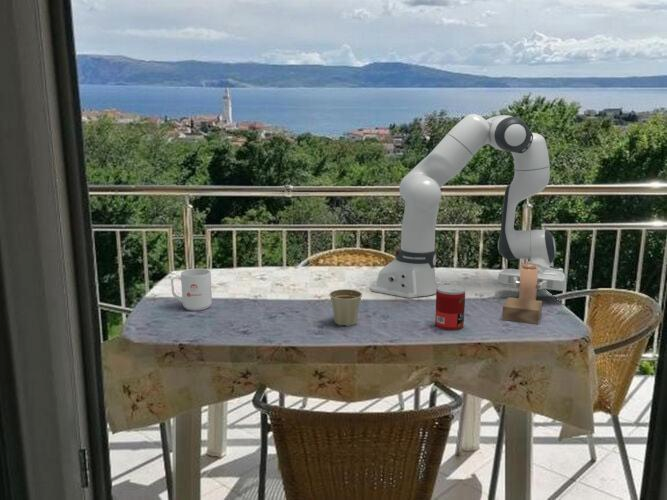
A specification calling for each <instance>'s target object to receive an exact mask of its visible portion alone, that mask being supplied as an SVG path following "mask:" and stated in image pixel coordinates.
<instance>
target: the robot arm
mask: <svg viewBox="0 0 667 500" xmlns="http://www.w3.org/2000/svg"><path fill="white" fill-rule="evenodd" d="M486 145H487V146H489V147H491V148H494V149H495V150H498V151H502V152H503V151H504V152H508V153H511V155H512V157H513V166H514V167H513V168H514V170H513V171H514V175H513V178H512V181H511V183H509V184H508V185H506V188H505V189H504V190H505V191H504V197H503V202H502V203H503V204H502V210H501V211H502V212H501V223H500V232H499V238H498V242H497V249H498V254H499V255H500V256H501V257H503V258H504V259H505V260H506V261H513V260H521V259H522V260H523V259H529V260H528V261H527V262H526V263H533V264H536V267H537V268H538V279H537V285H536V286H537V287H536V289H537V290H539V291H540V290H541V291H542V290H543V289H545V290H552V291H553V290H554V291H564V290H565V285H566V284H565V282H566V275H565V273H564V269H563V268H561V267H557V266H554V260H555V259H556V258H557V241H556V237H555V236H554V235H553V234H552V233H551V231H549V230H548V229H530V230H529V229H523V230H516V229H515V227H514V226H515V219H516V218H515V217H516V209H517V206H518V204H520V202H522V201H524V200H526V199H528V198H531V197H533V196H536V195H537V194H539V193H540V192H542V191H543V190H544V189H546V188H547V186H548V184H549V182H550V178H551V166H550V156H549V151H548V146H547V142H546V139H545V137H544V136H543V135H542V134H539V133H536V132H532V131H531V130H530V129H529V127H528V125H527V123H525V121H524V120H522V119H521V118H519V117H516V116H513V115H508V114H496V115H491V116H489V117H487V118H484V117H483V116H482V115H480V114H476V113H470V114H468V115H466V116H464V117H463V118H462V119H461V120H459V121H458V122H457V123H456V124H455V125H454V126H453V127H452V128H451V129H450V130H449V132H447V134H445V136H444V137H443V138H442V139H441V140H440V141H439V142H438V144H437V145H436V146H435V147H434V148H433V149H432V150H431V152H429V154H428V155H427V156H425V157H424V158H423V159H422V160H421V161H420V162H419V163H417V164H416V165H415V166H414V167H413V168H412V169H411V170H410V171H409V172H408V173H407V174H406V175H405V176H404V177H402V179H401V180H400V184H399V193H400V194H399V195H400V197H401V198H402V200H404V211H403V219H402V223H401V233H400V234H401V235H400V236H401V238H400V246H398V247H397V248H396V250H395V251H394V255H393V256H394V259H393V260H391V262H389V263H387V264H386V265H385V266H383V267H382V268H381V269H380V271H379V273H378V276H377V280H376V281H374V282H372V283H371V285H370V291H372V292H375V293H380V294H386V295H392V296H397V297H401V298H402V297H403V298H407V299H413V298H418V297H426V296H432V295H435V294H436V289H437V287H438V284H437V280H436V268H435V267H436V263H437V250H436V248H435V247H436V246H435V245H436V227H437V219H438V215H439V209H440V208H439V207H440V202H441V199H442V191H441V187H443V186H444V185H446V183H448V182H449V181H450V180H452V178H455V177H456V176H457V175H458V174H459V173H460V172H461V171H462V170H463V169H464V167H465V166H466V165H468V163H469V162H470V161H471V160H472V158H473V157H474V156H475V155H476V154H477V152H478V151H479V150H480V149H482V148H483V147H485V146H486ZM498 283H500V284H502V285H512V286H514V287H516V288H519V284H520V269H516V268H505V269H502V270H501V271H499V272H498Z"/></svg>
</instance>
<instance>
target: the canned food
mask: <svg viewBox="0 0 667 500" xmlns="http://www.w3.org/2000/svg"><path fill="white" fill-rule="evenodd" d="M435 294H436V295H435V317H434V318H435V322H434V323H435V326H436V327H438V328H439V329H442V330H445V331H446V330H448V331H456V330H461V329H462V328H463V327H464V324H465V305H466V289H465V287H463V286H461V285H455V284H441V285H437V289H436V293H435Z"/></svg>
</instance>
